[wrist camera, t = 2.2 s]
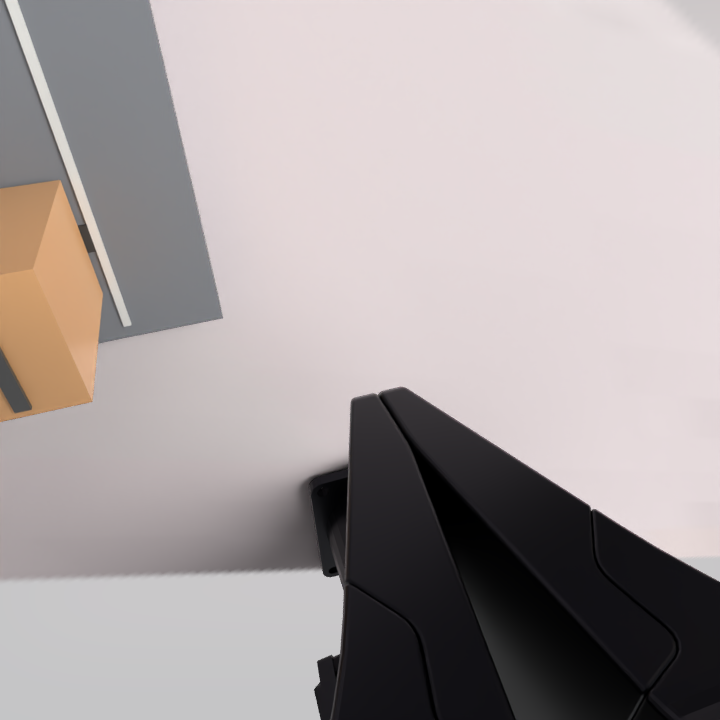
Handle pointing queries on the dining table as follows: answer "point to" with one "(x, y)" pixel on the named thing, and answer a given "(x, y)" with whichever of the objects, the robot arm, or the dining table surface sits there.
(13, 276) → the block
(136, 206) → the console
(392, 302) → the dining table surface
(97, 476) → the dining table surface
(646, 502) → the dining table surface
